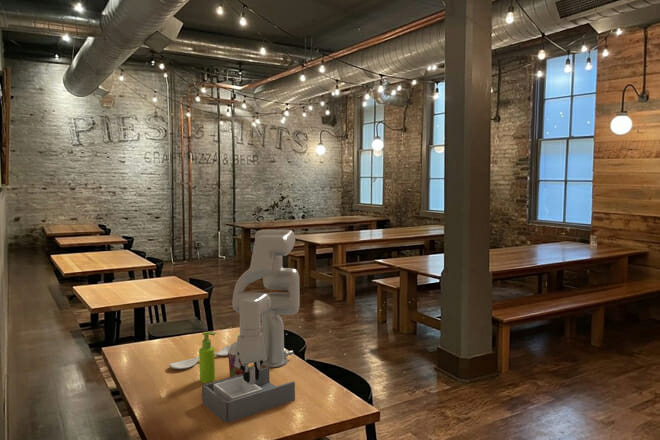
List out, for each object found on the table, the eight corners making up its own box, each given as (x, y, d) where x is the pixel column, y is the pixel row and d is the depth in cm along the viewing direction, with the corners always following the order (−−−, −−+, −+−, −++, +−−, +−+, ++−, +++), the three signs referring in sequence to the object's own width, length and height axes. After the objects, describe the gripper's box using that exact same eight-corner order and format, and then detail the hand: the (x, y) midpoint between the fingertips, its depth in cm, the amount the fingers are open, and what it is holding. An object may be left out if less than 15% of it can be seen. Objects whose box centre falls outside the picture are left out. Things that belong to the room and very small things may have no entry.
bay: (268, 383, 202) (267, 366, 201) (294, 400, 187) (294, 382, 186) (202, 403, 184) (201, 385, 184) (226, 423, 170) (225, 403, 169)
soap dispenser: (213, 383, 202) (212, 335, 200) (197, 382, 204) (196, 334, 202) (219, 377, 208) (218, 330, 206) (204, 376, 209) (202, 329, 207)
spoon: (239, 355, 235) (239, 348, 235) (176, 374, 212) (175, 366, 212) (228, 350, 241) (228, 343, 241) (166, 368, 219) (165, 360, 219)
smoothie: (253, 381, 205) (252, 333, 203) (243, 389, 197) (242, 339, 195) (235, 378, 207) (234, 331, 206) (224, 386, 199) (223, 337, 198)
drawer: (245, 389, 193) (244, 361, 192) (265, 403, 181) (265, 373, 180) (213, 399, 185) (212, 369, 184) (232, 414, 173) (232, 382, 172)
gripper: (264, 324, 192) (265, 371, 194) (225, 333, 182) (226, 382, 184) (274, 329, 186) (275, 377, 188) (234, 338, 176) (236, 389, 178)
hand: (251, 379), depth 186 cm, fingers closed on drawer, 3 cm apart
